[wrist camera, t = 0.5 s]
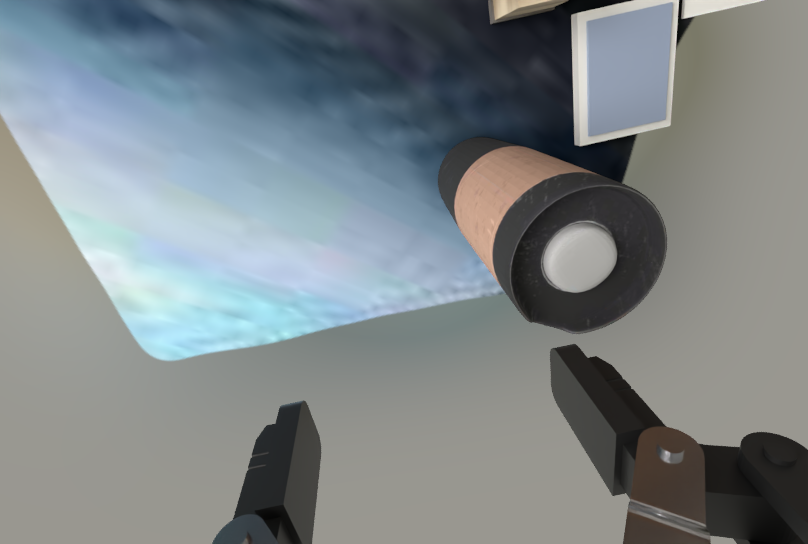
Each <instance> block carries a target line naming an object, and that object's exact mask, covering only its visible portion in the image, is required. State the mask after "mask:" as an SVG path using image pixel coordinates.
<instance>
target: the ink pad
mask: <svg viewBox="0 0 808 544" xmlns="http://www.w3.org/2000/svg"><path fill="white" fill-rule="evenodd" d="M678 8H679V0H633V1H629V2H624V3H620V4H615V5H611V6H606V7H602V8H597V9H593V10H588V11H584V12H579V13H576V14H573V15H571V27H572V65H573V102H574V140H575V145H577V146H584V145H588V144H593V143H597V142H601V141H606V140H610V139H615V138H619V137H624V136H628V135H633V134H637V133H641V132H646V131H651V130H655V129H659V128H664V127H668V126H671V111H672V97H673V82H674V67H675V53H676V38H677V23H678Z"/></svg>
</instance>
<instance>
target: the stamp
mask: <svg viewBox="0 0 808 544" xmlns="http://www.w3.org/2000/svg"><path fill="white" fill-rule="evenodd" d="M566 1H568V0H488V4H489V15H490V24H494V23H499V22H503V21H508V20H512V19H517V18H521V17H526V16H530V15H535V14H539V13H544V12H548V11H552V10H554V9H555V6H557V5H559V4H562V3H564V2H566Z"/></svg>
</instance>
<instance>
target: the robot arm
mask: <svg viewBox="0 0 808 544" xmlns="http://www.w3.org/2000/svg"><path fill="white" fill-rule="evenodd" d="M550 362H551V364H550V365H551V387H552V392H553V396H554V398H555V401H556V403H557V405H558V407H559V408H560V410H561V412H562V413H563V415H564V417H565V418H566V420H567V422H568V423H569V425H570V426H571V428H572V430H573V431H574V433H575V435H576V436H577V438H578V440H579V441H580V443H581V444H582V446H583V448H584V449H585V451H586V453H587V454H588V456H589V458H590V459H591V461H592V463H593V464H594V466H595V467H596V469H597V471H598V472H599V474H600V476H601V477H602V479H603V481H604V482H605V484H606V486H607V487H608V489H609V490H610V492H611V494H612V495H613V496H615V495H620V494H624V493H627V495H628V496H629V498H630V503H629V505H628V513H627V519H626V527H625V533H624V541H623V544H711V543H710V536H719V537H727V538H733V539H734V540H735V541H736V543H737V544H808V450H807V449H806V448H805V447H803V446H802V445H800V444H799V443H797V442H795V441H793V440H791V439H789V438H787V437H784V436H781V435H777V434H773V433H767V432H757V433H751V434H748V435H746V436H745V437H744V438H743V439H742V441H741V445H740V447H728V446H727V447H726V446H711V445H703V444H698V443H697V442H696V441H695V440H694V439H693V438H691V437H690V436H689V435H687V434H685V433H683V432H681V431H679V430H676V429H673V428H669V427H666V426H665V425H664V424H663V423H662V421H661V420H660V419H659V418H658V417H657V416H656V415H655V414H654V412H653V411H652V410H651V409H650V408H649V407H648V406H647V404H646V403H645V402H644V401H643V400H642V399H641V398H640V397H639V395H638V394H637V393H636V392H635V391H634V390H633V389H631V386H630V385H629V384H628V383H627V382H626V381H625V380H624V379H623V378H622V376H621V375H620V374H619V373H618V372H617V371H616V370H615V368H614V367H613V366H612V365H610V364H609V363H607V362H605V361H603V360H602V359H600V358H598V357H597V356H595V357H590V358H587V357H586V356H585V354H584V353H583V352H582V351H581V349H580V348H579V347H578V346H577V345H576V344H572V345H567V346H562V347H557V348H553V349H551V351H550ZM320 459H321V443H320V437H319V434H318V431H317V429H316V426H315V423H314V421H313V418H312V416H311V413H310V410H309V408H308V405H307V403H306V402H305V401H300V402H295V403H290V404H286V405H282V406H281V407H280V408H279V412H278V416H277V420H276V424H272V425H267V426H266V427H265V428H264V430H263V431H262V432H261V434H260V435H259V437H258V438H257V439H256V442H255V446H254V449H253V453H252V458H251V459H250V463H249V466H248V469H249V470H248V471H247V473H246V477H245V480H244V484H243V487H242V491H241V494H240V498H239V501H238V504H237V508H236V511H235V515H234V518H233V520H232V521H230V522H229V523H228V524H226V525H225V526H224V527H223V528H222V529H221V530H220V531H219V533H218V534H217V535H216V537H215V538H214V540H213V542H212V544H312V536H313V527H314V517H315V508H316V499H317V489H318V479H319V470H320Z"/></svg>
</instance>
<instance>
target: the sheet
mask: <svg viewBox="0 0 808 544" xmlns="http://www.w3.org/2000/svg"><path fill="white" fill-rule="evenodd" d="M760 1H765V0H682V14H681V19H685V18H689V17H693V16H697V15H702V14H707V13H711V12H716V11H720V10H725V9H729V8H733V7H737V6H743V5H747V4H751V3H756V2H760Z"/></svg>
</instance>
